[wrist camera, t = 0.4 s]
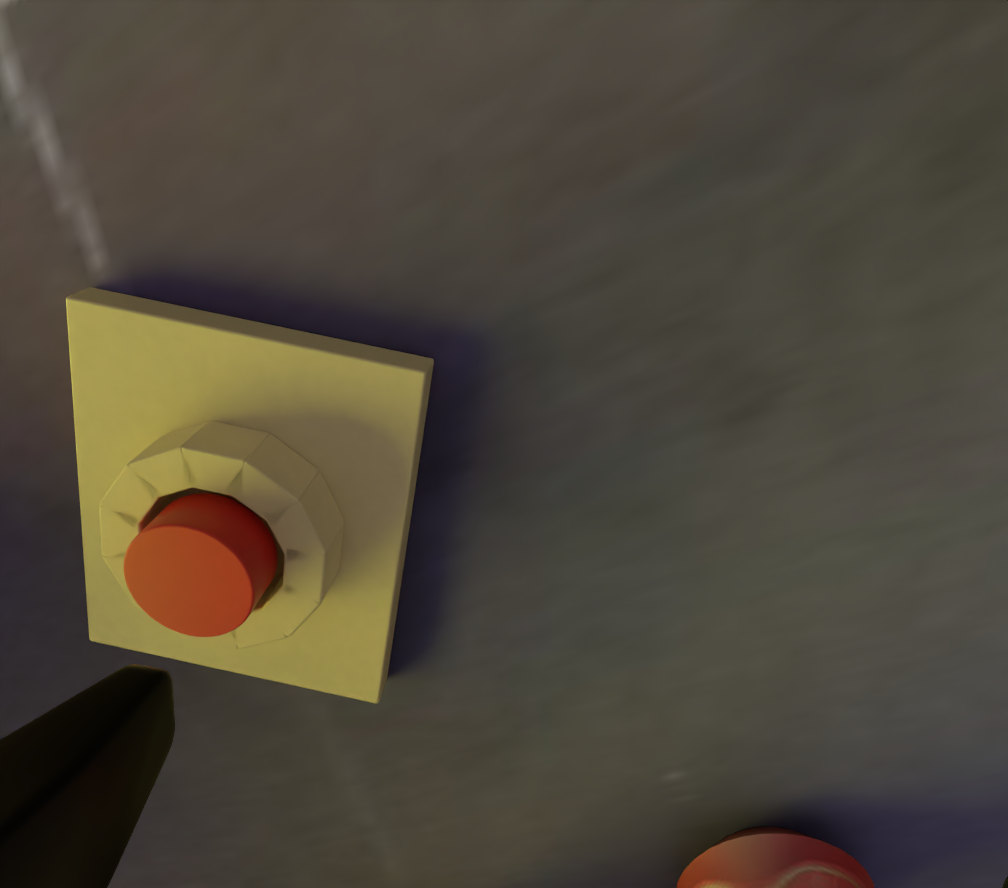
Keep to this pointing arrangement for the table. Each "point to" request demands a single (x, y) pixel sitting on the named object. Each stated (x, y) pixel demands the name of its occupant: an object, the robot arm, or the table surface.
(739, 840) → the liquor
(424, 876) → the table surface
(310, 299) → the table surface
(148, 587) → the power button
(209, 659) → the power switch
